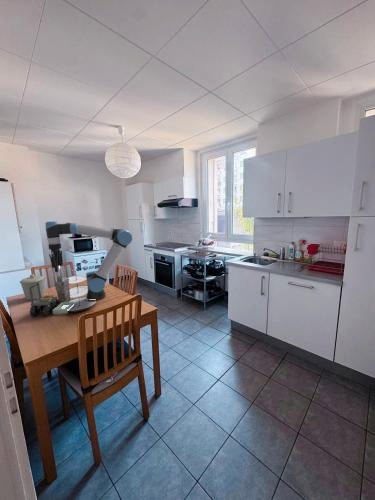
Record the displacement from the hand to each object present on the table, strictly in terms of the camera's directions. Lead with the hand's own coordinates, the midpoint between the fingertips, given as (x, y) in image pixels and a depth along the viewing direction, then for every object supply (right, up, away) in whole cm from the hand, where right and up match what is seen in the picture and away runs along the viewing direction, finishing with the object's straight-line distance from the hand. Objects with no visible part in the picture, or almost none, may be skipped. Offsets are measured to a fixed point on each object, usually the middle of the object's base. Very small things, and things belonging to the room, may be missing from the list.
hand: (59, 275), depth 154 cm
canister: (-39, -23, +31) cm, 55 cm away
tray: (+1, -27, +5) cm, 27 cm away
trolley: (-11, -28, +2) cm, 30 cm away
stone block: (-6, -25, +18) cm, 31 cm away
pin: (0, -5, +1) cm, 5 cm away
